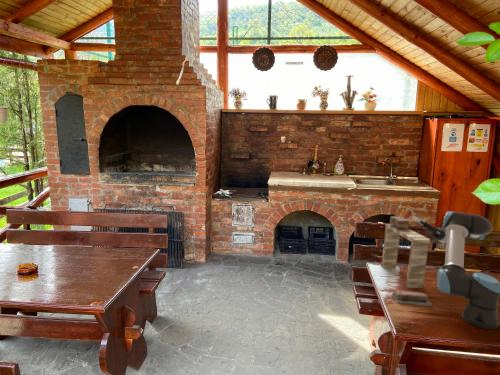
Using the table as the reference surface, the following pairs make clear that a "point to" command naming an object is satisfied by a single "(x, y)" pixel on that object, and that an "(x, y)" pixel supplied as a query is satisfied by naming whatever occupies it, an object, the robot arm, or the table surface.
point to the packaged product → (411, 298)
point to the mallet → (402, 222)
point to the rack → (416, 253)
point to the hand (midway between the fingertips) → (414, 218)
